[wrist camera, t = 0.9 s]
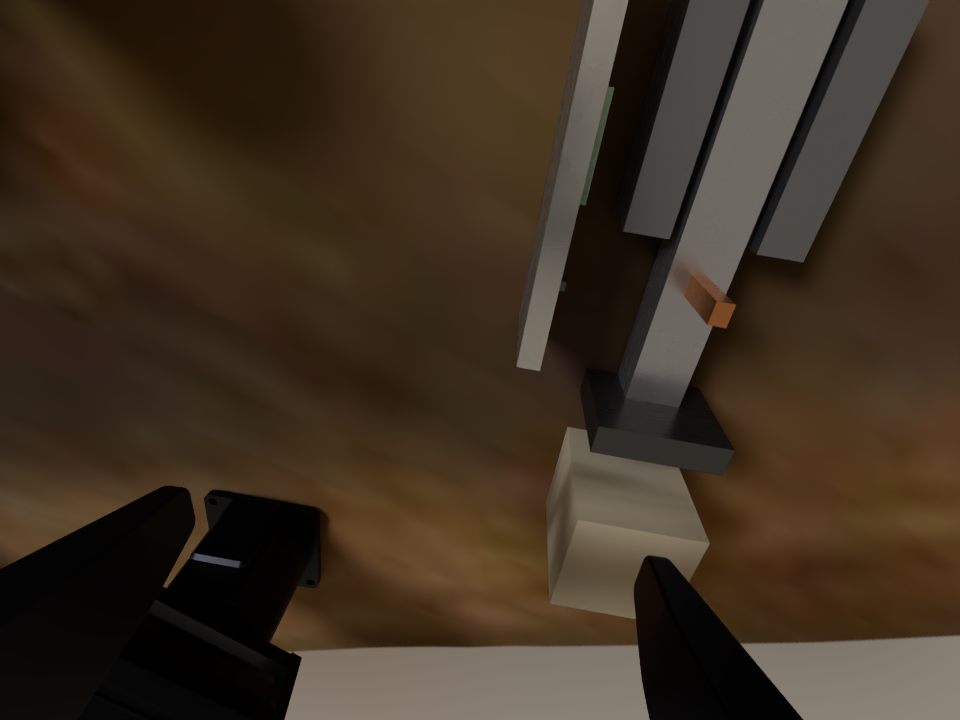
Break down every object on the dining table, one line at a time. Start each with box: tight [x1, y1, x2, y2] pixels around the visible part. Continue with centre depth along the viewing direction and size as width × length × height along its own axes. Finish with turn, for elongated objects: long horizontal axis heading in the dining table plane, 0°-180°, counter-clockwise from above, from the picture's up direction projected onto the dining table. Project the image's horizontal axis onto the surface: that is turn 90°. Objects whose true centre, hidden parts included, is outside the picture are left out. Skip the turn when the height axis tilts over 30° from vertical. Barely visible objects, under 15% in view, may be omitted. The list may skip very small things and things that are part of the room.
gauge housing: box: [517, 0, 929, 371], centre depth 15 cm, size 13×9×5 cm
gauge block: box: [546, 427, 710, 619], centre depth 22 cm, size 5×5×6 cm
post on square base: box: [580, 0, 848, 476], centre depth 16 cm, size 16×5×5 cm, turn 172°
